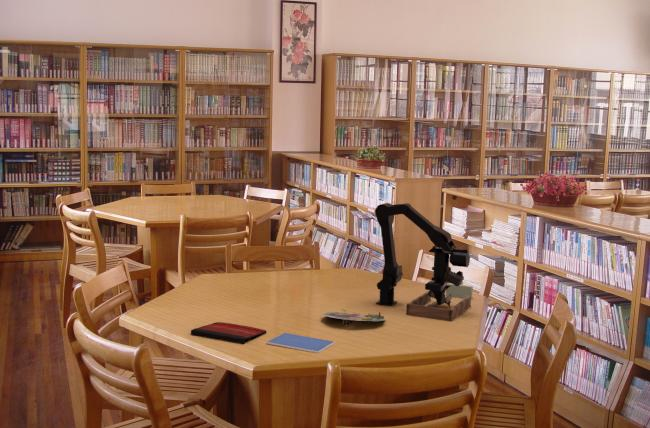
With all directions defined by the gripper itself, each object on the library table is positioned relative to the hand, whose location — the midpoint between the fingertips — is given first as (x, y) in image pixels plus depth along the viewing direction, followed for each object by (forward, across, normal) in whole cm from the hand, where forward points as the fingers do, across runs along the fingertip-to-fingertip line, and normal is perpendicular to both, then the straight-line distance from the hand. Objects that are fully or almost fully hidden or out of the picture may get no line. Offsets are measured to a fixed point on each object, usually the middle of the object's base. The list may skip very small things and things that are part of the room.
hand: (439, 304), depth 299 cm
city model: (+3, -31, +21) cm, 38 cm away
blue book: (+3, -65, +25) cm, 70 cm away
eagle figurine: (+2, +6, +2) cm, 7 cm away
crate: (+2, 0, 0) cm, 2 cm away
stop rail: (+2, +25, 0) cm, 25 cm away
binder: (+3, -67, +51) cm, 84 cm away
